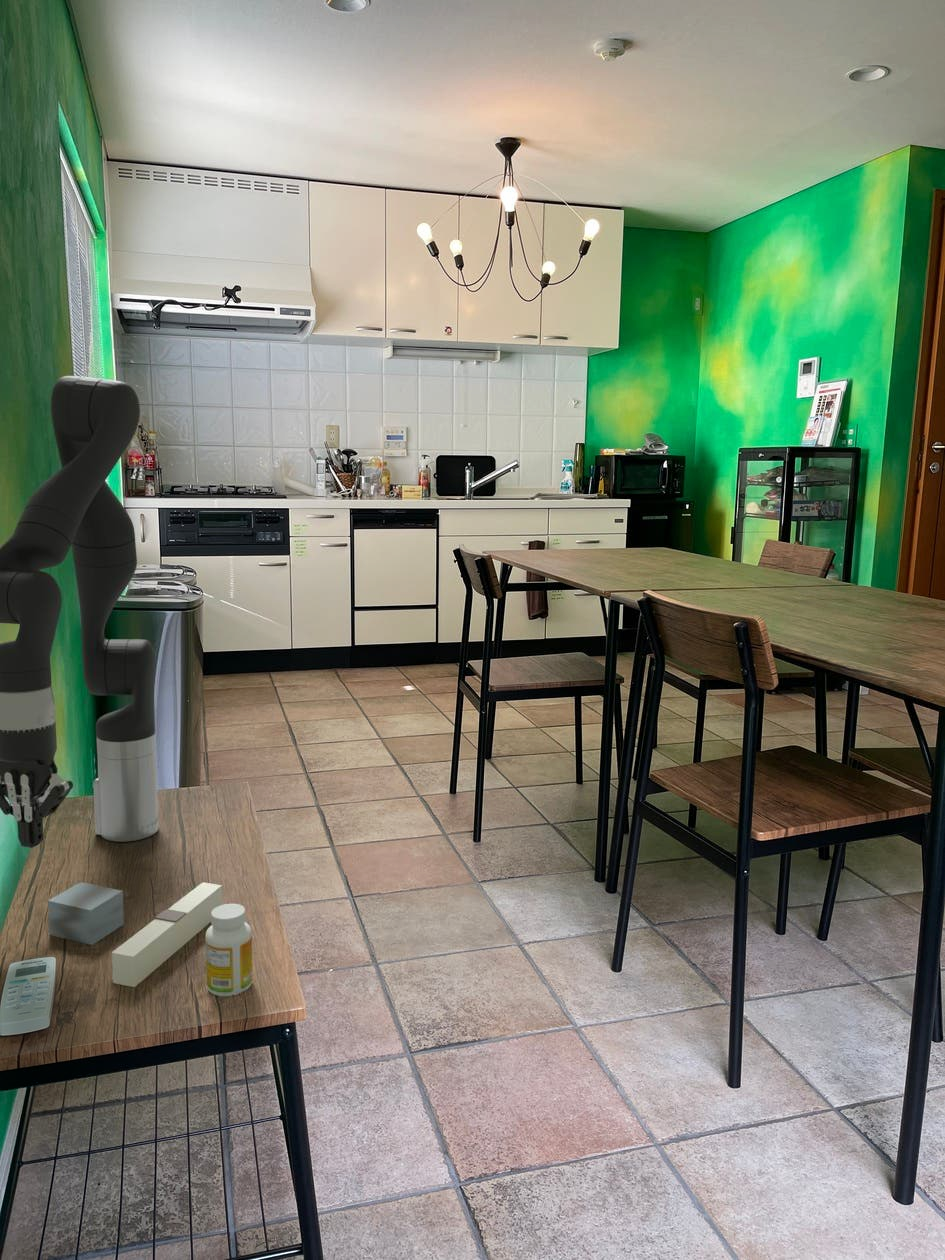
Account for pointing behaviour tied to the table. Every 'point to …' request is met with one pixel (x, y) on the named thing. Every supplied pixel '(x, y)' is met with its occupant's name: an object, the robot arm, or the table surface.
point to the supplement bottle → (228, 951)
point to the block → (86, 913)
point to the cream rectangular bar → (164, 935)
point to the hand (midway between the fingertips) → (31, 845)
